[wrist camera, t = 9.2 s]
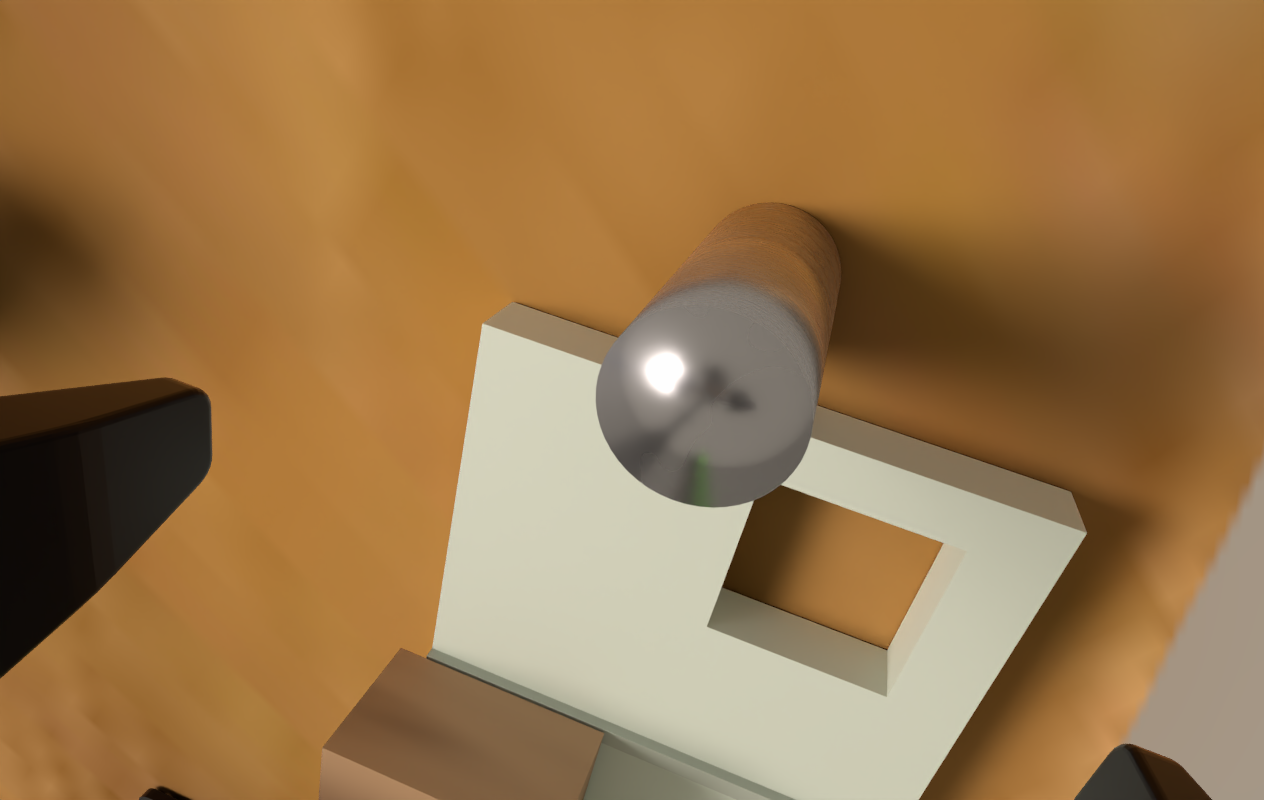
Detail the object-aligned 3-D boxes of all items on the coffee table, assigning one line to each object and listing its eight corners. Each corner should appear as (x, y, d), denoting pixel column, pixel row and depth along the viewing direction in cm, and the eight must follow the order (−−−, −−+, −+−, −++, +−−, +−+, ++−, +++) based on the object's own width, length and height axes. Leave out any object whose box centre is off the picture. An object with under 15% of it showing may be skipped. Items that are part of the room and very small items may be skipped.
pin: (813, 359, 18) (771, 536, 11) (683, 316, 18) (577, 464, 12) (863, 227, 16) (846, 350, 10) (721, 184, 17) (621, 275, 10)
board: (818, 911, 25) (813, 975, 23) (436, 745, 26) (406, 792, 25) (1070, 491, 17) (1090, 541, 15) (512, 301, 19) (476, 328, 17)
